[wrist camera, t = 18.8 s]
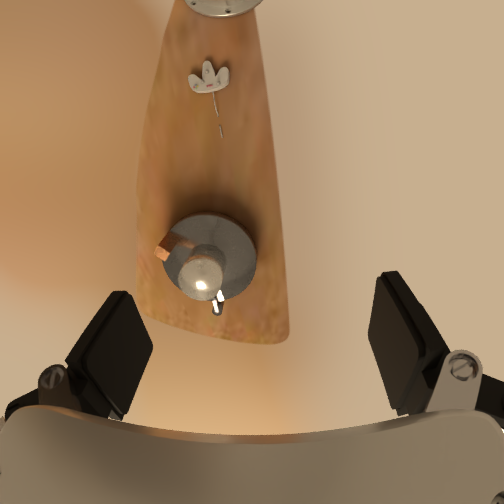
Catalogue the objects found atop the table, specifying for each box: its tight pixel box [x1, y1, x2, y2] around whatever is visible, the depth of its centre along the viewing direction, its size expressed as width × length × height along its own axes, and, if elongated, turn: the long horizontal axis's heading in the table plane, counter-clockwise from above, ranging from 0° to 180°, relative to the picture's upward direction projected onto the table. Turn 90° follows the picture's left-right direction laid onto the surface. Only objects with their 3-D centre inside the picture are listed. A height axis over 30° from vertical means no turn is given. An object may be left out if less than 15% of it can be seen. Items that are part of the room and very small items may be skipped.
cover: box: [178, 244, 227, 301], centre depth 40 cm, size 6×6×6 cm
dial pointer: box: [212, 298, 224, 316], centre depth 47 cm, size 3×2×4 cm, turn 7°
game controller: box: [188, 61, 230, 138], centre depth 34 cm, size 6×12×3 cm, turn 28°
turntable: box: [153, 211, 257, 301], centre depth 41 cm, size 15×15×7 cm
